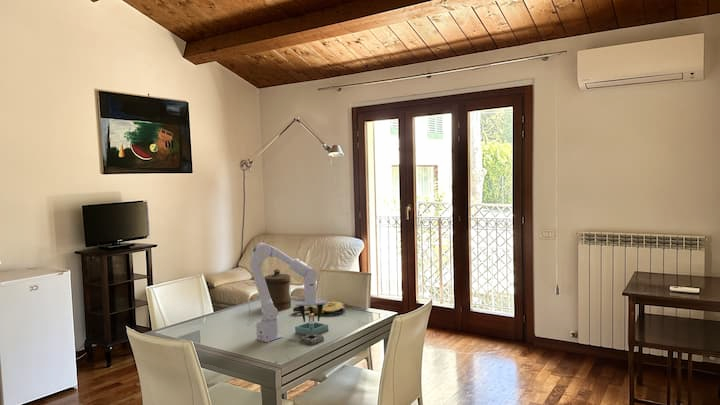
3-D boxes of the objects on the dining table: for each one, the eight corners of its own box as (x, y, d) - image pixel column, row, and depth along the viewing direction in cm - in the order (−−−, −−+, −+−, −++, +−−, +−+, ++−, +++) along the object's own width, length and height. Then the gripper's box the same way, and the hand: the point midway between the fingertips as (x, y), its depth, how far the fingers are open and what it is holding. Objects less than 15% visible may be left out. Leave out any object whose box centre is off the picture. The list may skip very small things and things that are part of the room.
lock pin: (311, 331, 231) (311, 315, 231) (307, 330, 233) (307, 314, 232) (315, 330, 233) (315, 313, 233) (311, 329, 235) (311, 313, 234)
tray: (311, 337, 225) (311, 330, 225) (295, 332, 232) (295, 326, 232) (328, 330, 234) (328, 324, 233) (311, 327, 241) (311, 321, 240)
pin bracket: (312, 345, 213) (311, 340, 213) (300, 342, 218) (299, 337, 218) (323, 340, 219) (323, 336, 219) (311, 337, 224) (311, 333, 224)
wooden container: (296, 306, 281) (295, 268, 280) (276, 312, 270) (274, 272, 269) (280, 303, 291) (278, 266, 290) (259, 308, 280) (258, 270, 279)
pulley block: (295, 298, 274) (348, 298, 272) (295, 308, 275) (349, 307, 273) (290, 309, 260) (346, 308, 258) (291, 319, 261) (347, 318, 259)
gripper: (294, 295, 227) (295, 324, 228) (326, 293, 229) (327, 322, 229) (295, 292, 234) (296, 320, 235) (325, 290, 236) (326, 318, 236)
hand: (311, 321), depth 233 cm, fingers open, 6 cm apart
